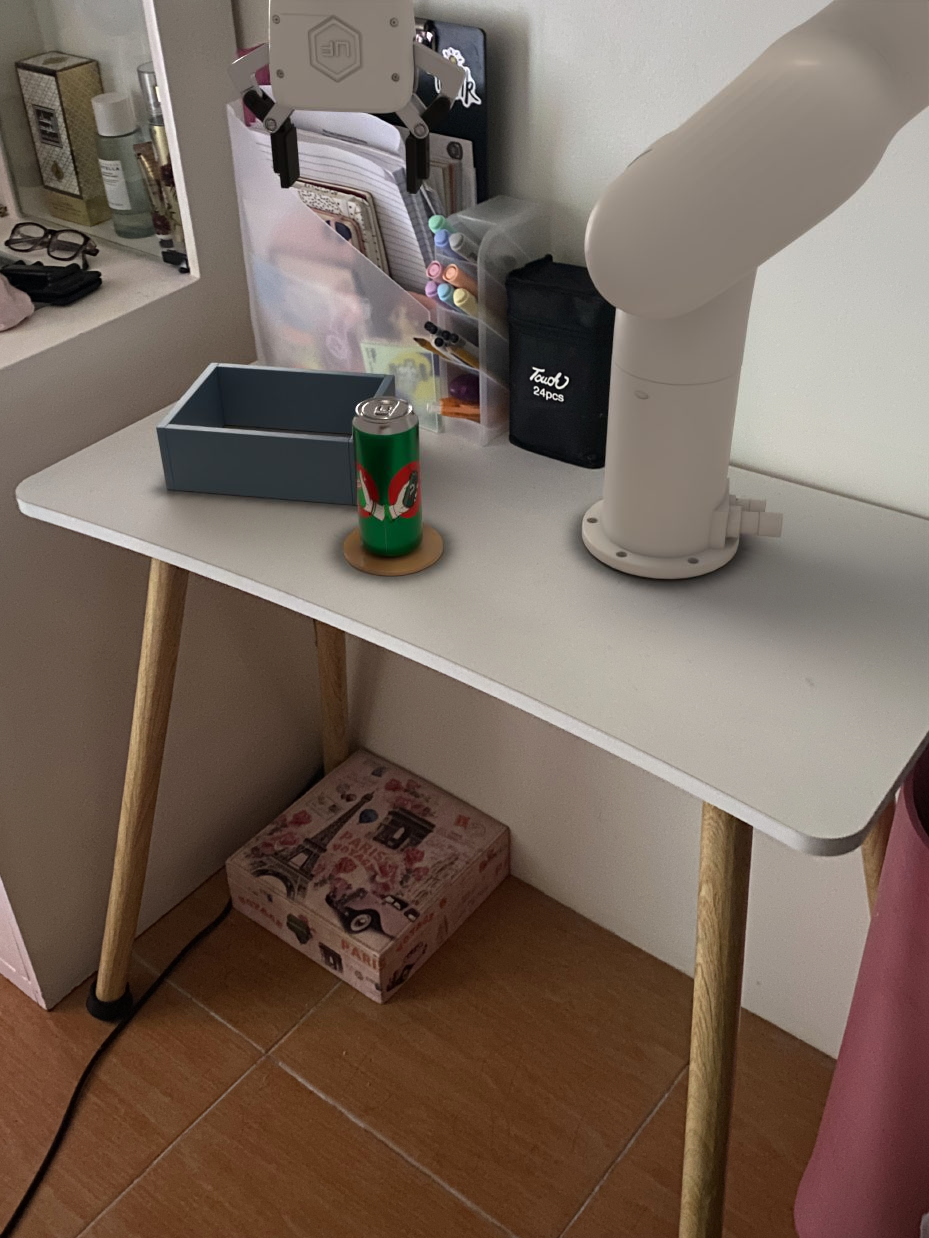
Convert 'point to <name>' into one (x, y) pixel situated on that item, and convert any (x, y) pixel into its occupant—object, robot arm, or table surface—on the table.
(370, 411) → the soda can
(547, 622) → the table surface
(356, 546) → the coaster
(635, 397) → the robot arm
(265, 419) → the frame
